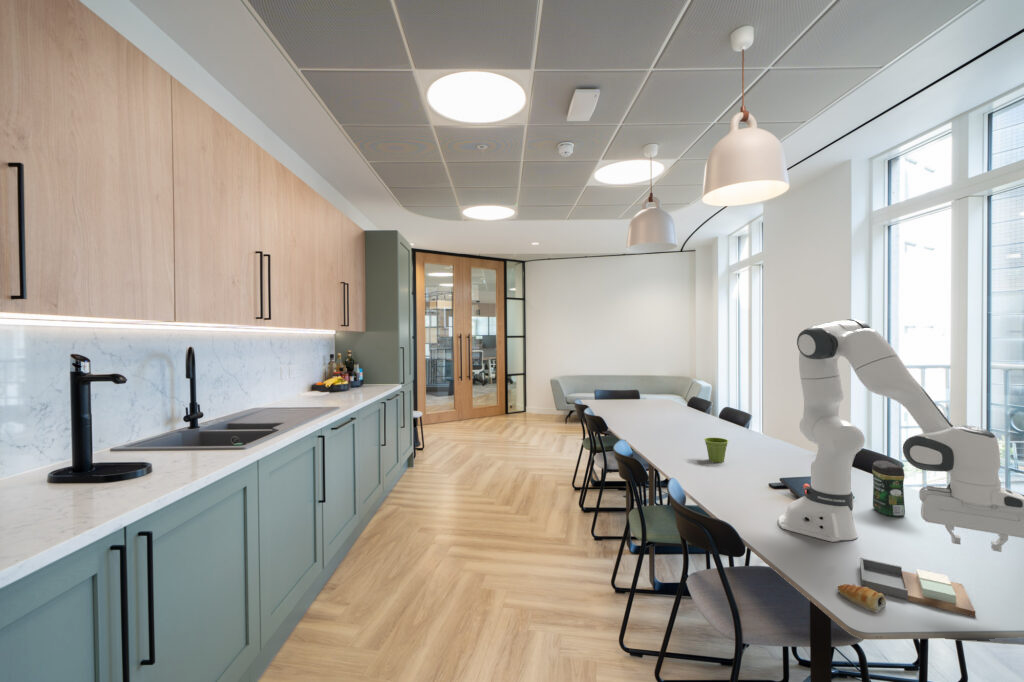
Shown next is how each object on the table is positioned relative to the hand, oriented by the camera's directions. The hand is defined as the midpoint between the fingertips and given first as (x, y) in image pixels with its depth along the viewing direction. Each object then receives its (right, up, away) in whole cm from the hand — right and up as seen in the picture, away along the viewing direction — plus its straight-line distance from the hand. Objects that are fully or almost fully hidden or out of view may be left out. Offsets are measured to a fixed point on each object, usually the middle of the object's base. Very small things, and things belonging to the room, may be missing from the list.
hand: (975, 546), depth 113 cm
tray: (-16, -14, +9) cm, 23 cm away
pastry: (-28, -14, 0) cm, 31 cm away
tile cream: (-6, -12, +5) cm, 14 cm away
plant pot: (-8, -12, +125) cm, 126 cm away
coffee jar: (+23, -12, +54) cm, 60 cm away
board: (-8, -13, +2) cm, 16 cm away
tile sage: (-10, -12, 0) cm, 15 cm away
